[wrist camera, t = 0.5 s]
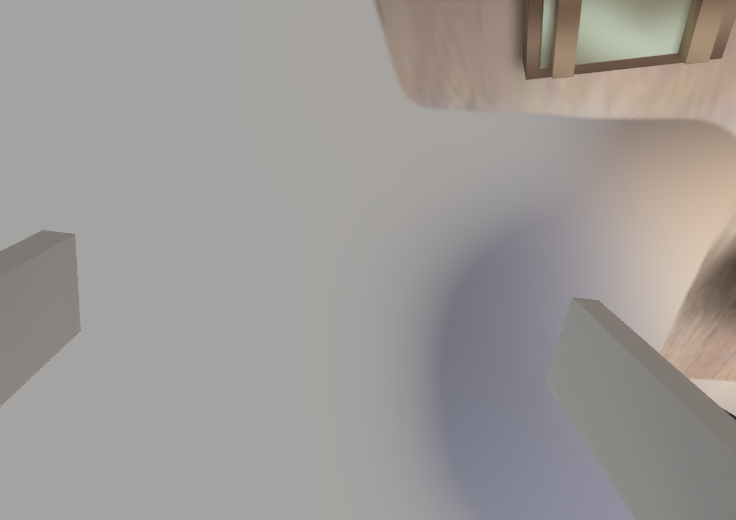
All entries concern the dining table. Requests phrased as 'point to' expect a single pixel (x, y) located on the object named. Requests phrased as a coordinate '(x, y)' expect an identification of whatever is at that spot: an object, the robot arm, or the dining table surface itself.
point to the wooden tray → (621, 34)
